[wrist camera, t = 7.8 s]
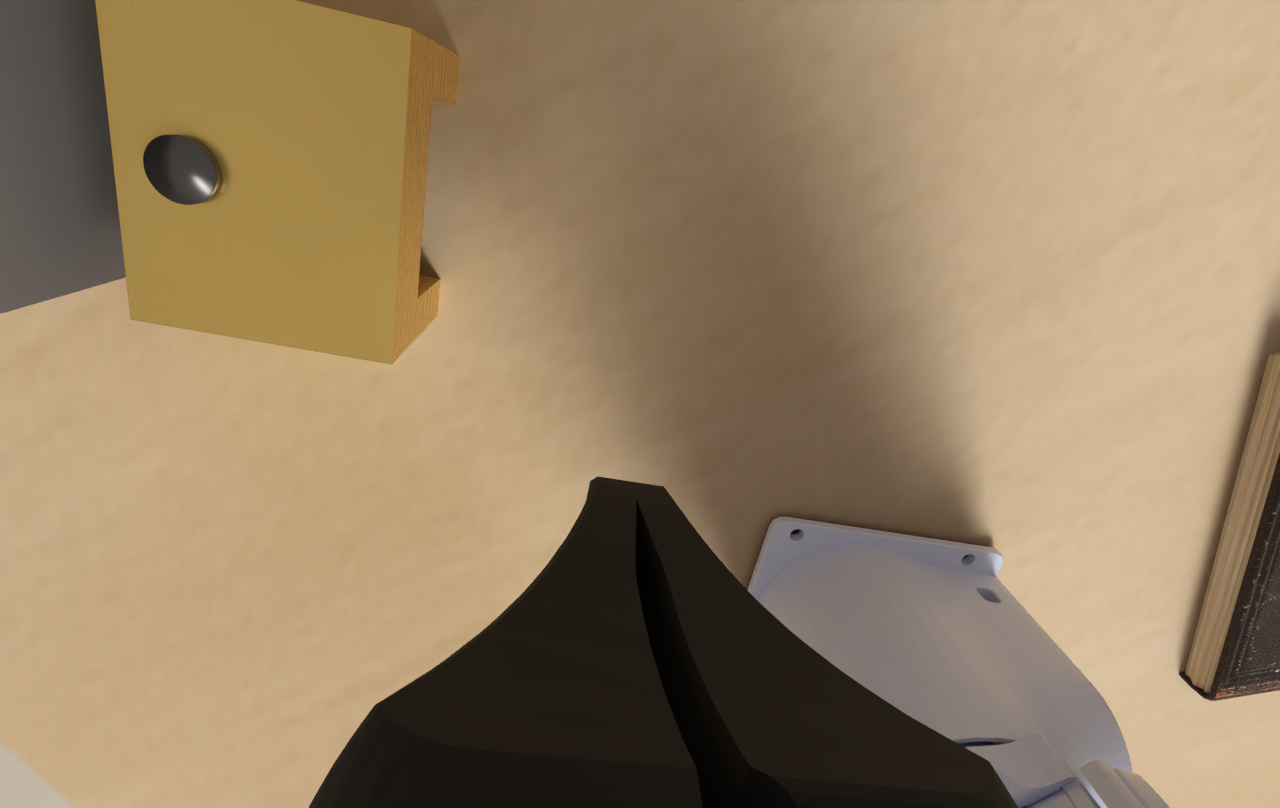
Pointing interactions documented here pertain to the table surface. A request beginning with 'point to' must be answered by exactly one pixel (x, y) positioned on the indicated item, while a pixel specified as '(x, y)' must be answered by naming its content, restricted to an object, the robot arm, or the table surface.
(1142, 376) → the table surface
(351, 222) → the wooden knob block
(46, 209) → the gray block
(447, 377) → the table surface
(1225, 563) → the hardcover book
